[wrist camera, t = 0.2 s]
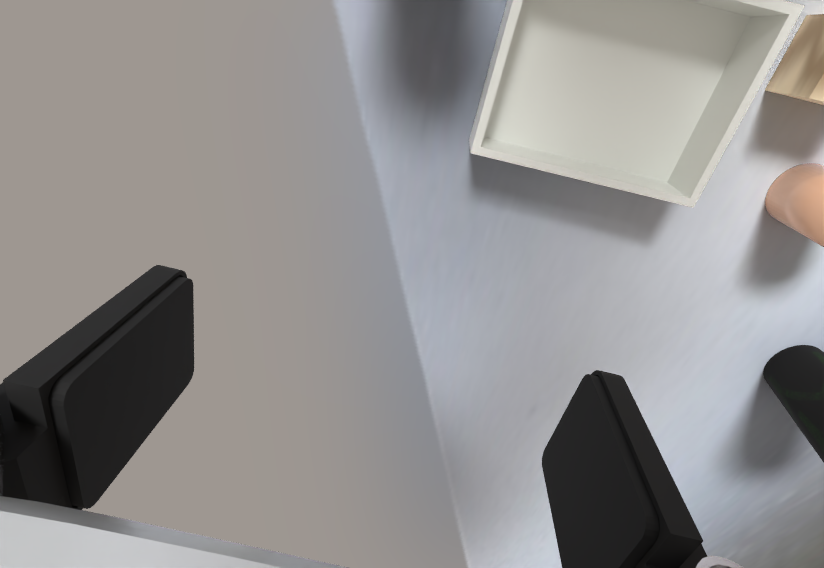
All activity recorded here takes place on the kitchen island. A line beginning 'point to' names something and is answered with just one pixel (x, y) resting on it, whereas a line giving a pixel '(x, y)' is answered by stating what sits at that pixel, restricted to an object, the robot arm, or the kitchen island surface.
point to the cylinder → (799, 200)
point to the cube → (803, 64)
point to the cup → (801, 389)
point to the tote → (627, 88)
